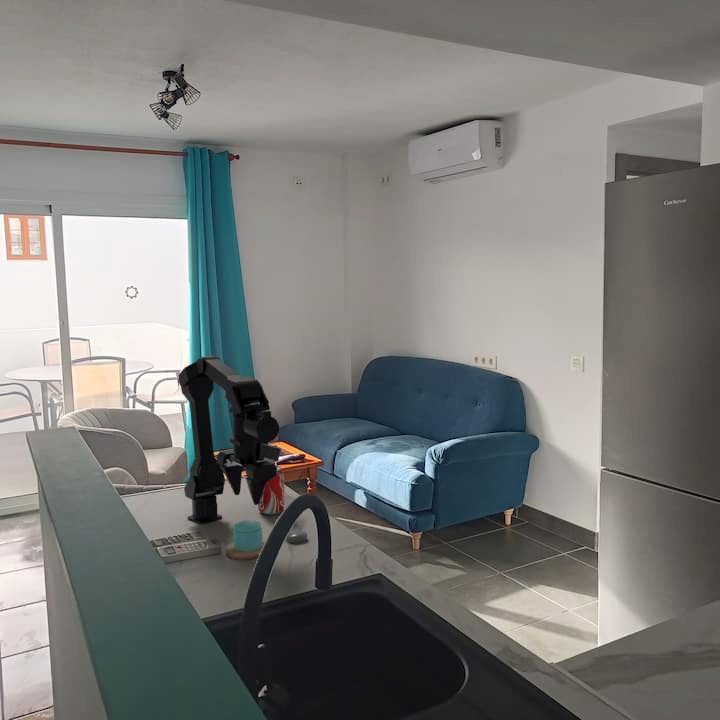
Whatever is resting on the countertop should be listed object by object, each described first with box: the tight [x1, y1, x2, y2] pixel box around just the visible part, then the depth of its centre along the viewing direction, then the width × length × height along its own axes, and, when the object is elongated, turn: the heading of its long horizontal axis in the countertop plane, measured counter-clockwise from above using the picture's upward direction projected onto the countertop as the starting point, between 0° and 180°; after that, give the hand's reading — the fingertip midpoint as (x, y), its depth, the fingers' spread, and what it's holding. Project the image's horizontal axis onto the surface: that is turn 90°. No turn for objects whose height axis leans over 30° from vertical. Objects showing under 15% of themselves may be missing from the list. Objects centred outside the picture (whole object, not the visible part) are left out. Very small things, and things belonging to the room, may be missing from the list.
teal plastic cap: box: [232, 519, 264, 552], centre depth 163 cm, size 6×6×5 cm
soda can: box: [257, 464, 285, 516], centre depth 191 cm, size 7×7×12 cm
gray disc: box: [285, 530, 308, 544], centre depth 171 cm, size 5×5×2 cm
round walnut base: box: [225, 541, 265, 561], centre depth 163 cm, size 9×9×2 cm
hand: (246, 499), depth 167 cm, fingers open, 9 cm apart
